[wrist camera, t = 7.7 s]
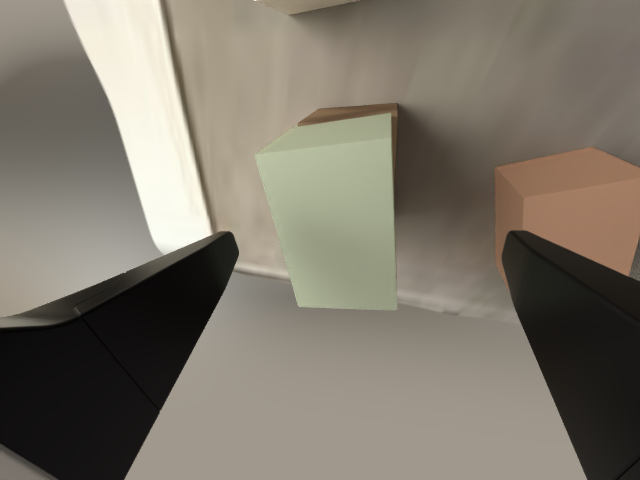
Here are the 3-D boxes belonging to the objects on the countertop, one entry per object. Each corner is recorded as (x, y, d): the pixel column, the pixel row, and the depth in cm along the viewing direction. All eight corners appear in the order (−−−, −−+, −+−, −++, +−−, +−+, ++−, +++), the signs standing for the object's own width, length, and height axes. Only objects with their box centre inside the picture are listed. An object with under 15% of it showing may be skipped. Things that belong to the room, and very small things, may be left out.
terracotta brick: (590, 146, 16) (656, 175, 12) (573, 255, 20) (620, 305, 16) (494, 166, 18) (523, 197, 14) (495, 263, 22) (518, 310, 18)
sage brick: (391, 112, 13) (391, 137, 9) (395, 250, 17) (397, 310, 13) (292, 127, 15) (254, 154, 10) (318, 252, 19) (298, 306, 15)
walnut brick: (396, 102, 17) (397, 116, 13) (391, 216, 22) (391, 253, 17) (318, 108, 18) (298, 123, 14) (328, 215, 23) (314, 249, 19)
